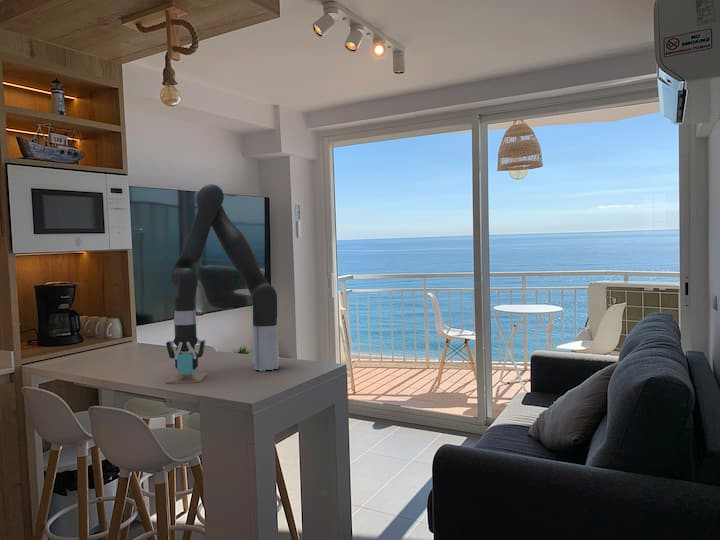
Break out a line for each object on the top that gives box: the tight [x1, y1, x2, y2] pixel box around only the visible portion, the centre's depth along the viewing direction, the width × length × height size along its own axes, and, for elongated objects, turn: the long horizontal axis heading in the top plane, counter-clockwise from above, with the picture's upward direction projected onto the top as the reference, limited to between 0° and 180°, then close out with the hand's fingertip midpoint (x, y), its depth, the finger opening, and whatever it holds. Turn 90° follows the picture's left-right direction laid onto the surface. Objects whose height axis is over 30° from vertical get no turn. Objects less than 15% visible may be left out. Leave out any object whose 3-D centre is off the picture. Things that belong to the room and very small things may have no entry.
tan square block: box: [165, 372, 209, 384], centre depth 192 cm, size 12×12×7 cm
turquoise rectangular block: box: [176, 351, 197, 374], centre depth 192 cm, size 5×5×7 cm
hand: (186, 368), depth 192 cm, fingers closed on turquoise rectangular block, 5 cm apart
